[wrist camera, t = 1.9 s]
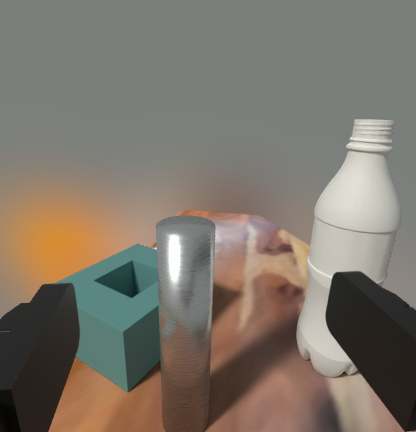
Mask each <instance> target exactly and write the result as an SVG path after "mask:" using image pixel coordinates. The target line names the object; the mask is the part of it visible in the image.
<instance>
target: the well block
mask: <svg viewBox="0 0 416 432" xmlns="http://www.w3.org/2000/svg"><path fill="white" fill-rule="evenodd" d="M58 283H72V284H73V285H74V288H75V294H76V302H77V310H78V318H79V326H80V340H79V346H78V350H77V353H76V356H75V357H76V358H78V359H79V360H81V361H82V362H84V363H85V364H87V365H88V366H90V367H91V368H93V369H94V370H96V371H97V372H98V373H100V374H101V375H103V376H104V377H106V378H107V379H109V380H110V381H112V382H113V383H115V384H116V385H118V386H119V387H121V388H122V389H124V390H125V391H127V392H129V391H130V390H131V389H132V388H133V387H134V386H135V385H136V384H137V383H138V382H139V381H140V380H141V379H142V378H143V377H144V376H145V375H146V374H147V373H148V372H149V371H150V370H151V369H152V368H153V367H154V366H155V365H156V364H157V363H158V362H159V361H160V332H159V301H158V271H157V250H155V249H152V248H149V247H146V246H143V245H140V244H136V245H134V246H132V247H130V248H128V249H126V250H123V251H121V252H119V253H117V254H115V255H113V256H111V257H109V258H107V259H105V260H102V261H101V262H98V263H96V264H94V265H92V266H90V267H88V268H86V269H84V270H81V271H79V272H77V273H75V274H73V275H71V276H69V277H67V278H65V279H62V280H60V281H58V282H56V283H54V284H58Z"/></svg>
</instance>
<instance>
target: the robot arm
mask: <svg viewBox="0 0 416 432" xmlns="http://www.w3.org/2000/svg"><path fill="white" fill-rule="evenodd" d="M325 318H326V324H327V327H328V330H329V332H330V333H331V335H332V336H333V337H334V339H335V340H336V341H337V343H338V344H339V345H340V347H341V348H342V349H343V351H344V352H345V353H346V355H347V356H348V357H349V359H350V360H351V361H352V363H353V364H354V365H355V366H356V368H357V369H358V370H359V372H360V373H361V374H362V376H363V377H364V378H365V380H366V381H367V382H368V384H369V385H370V386H371V388H372V389H373V390H374V392H375V393H376V394H377V396H378V397H379V398H380V400H381V401H382V402H383V404H384V405H385V406H386V408H387V409H388V410H389V411H390V413H391V414H392V415H393V417H394V418H395V419H396V421H397V422H398V423H399V425H400V426H401V427H402V429H403V430H404V431H405V432H407V431H415V430H416V310H415V309H414V308H412V307H411V308H410V307H409V305H408V304H407V303H406V302H405V301H403V300H402V299H401V298H400V297H398V296H397V295H396V294H394V293H392V292H390V291H388V290H386V289H384V288H382V287H380V286H379V285H378V284H377V283H375V282H374V281H373V280H372V279H370V278H369V277H368V276H367V275H365V274H364V273H363V272H361V271H347V272H336V273H335V274H334V275H333V277H332V280H331V286H330V291H329V296H328V302H327V307H326V313H325ZM79 340H80V326H79V318H78V310H77V302H76V294H75V288H74V285H73V284H72V283H58V284H44V285H42V286H41V287H40V289H39V290H38V291H37V293H36V294H35V296H34V297H33V299H32V300H31V302H30V303H21V304H19V305H18V306H16V307H15V308H14V309H12V310H11V311H10V312H8V313H6V314H5V315H4V316H3V317H2V318H1V319H0V432H48V431H49V428H50V425H51V423H52V420H53V417H54V414H55V412H56V409H57V406H58V403H59V400H60V398H61V395H62V392H63V389H64V387H65V384H66V381H67V378H68V376H69V373H70V370H71V367H72V364H73V362H74V359H75V356H76V353H77V350H78V346H79Z"/></svg>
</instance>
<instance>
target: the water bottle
mask: <svg viewBox="0 0 416 432" xmlns="http://www.w3.org/2000/svg"><path fill="white" fill-rule="evenodd" d="M394 122H395V121H392V120H367V119H355V122H354V127H353V132H352V137H350V143H349V144H347V145H346V148H349V150H348V154H347V157H346V159H345V162H344V164H343V165H342V167H341V168H340V170H339V171H338V173H337V174H336V175H335V177H334V178H333V179H332V180H331V181H330V183H329V184H328V186H327V187H326V188H325V190H324V191H323V193H322V194H321V196H320V197H319V199H318V201H317V204H316V207H315V211H314V214H315V220H314V225H313V232H312V239H311V245H310V252H309V256H308V258H307V266H308V288H307V294H306V299H305V302H304V306H303V309H302V311H301V314H300V316H299V318H298V323H297V332H296V338H297V345H298V349H299V351H300V354H301V356H302V357H303V358H304V360H309V359H311V362H312V364H313V367H314V368H315V370H316V371H318V372H319V373H320V374H322V375H324V376H327V377H337V376H339V375H340V374H342V373H343V372H345V373H346V374H348V375H350V374H353V373H355V372H356V371H357V370H358V369H357V368H356V366H355V365H354V364H353V363H352V361H351V360H350V359H349V357H348V356H347V355H346V353H345V352H344V351H343V349H342V348H341V347H340V345H339V344H338V343H337V341H336V340H335V339H334V337H333V336H332V335H331V333H330V332H329V330H328V327H327V324H326V318H325V313H326V307H327V302H328V296H329V291H330V286H331V280H332V277H333V275H334V274H335V273H336V272H347V271H361V272H363V273H364V274H365V275H367V276H368V277H369V278H370V279H372V280H373V281H374V282H375V283H377V284H378V285H379V286H380V287H381V286H382V284H383V282H384V280H385V279H386V277H387V269H388V266H389V262H390V258H391V254H392V249H393V245H394V242H395V238H396V234H397V230H398V229H399V227H400V224H401V209H400V204H399V200H398V197H397V194H396V191H395V188H394V185H393V183H392V180H391V177H390V173H389V169H388V154H389V151H392V150H393V147H391V146H390V144H391V142H392V140H391V135H392V133H393V132H392V130H393V129H394V128H393V126H394V124H395V123H394Z"/></svg>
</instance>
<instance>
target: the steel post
mask: <svg viewBox="0 0 416 432" xmlns="http://www.w3.org/2000/svg"><path fill="white" fill-rule="evenodd" d="M156 240H157V271H158V301H159V332H160V362H161V393H162V422H163V427H164V429H165V431H166V432H204V430H205V429H206V427H207V424H208V414H209V387H210V360H211V333H212V306H213V278H214V251H215V224H214V223H213V222H212V221H211V220H208V219H206V218H202V217H197V216H174V217H169V218H166V219H163V220H161V221H159V222H158V223H157V225H156Z"/></svg>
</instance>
